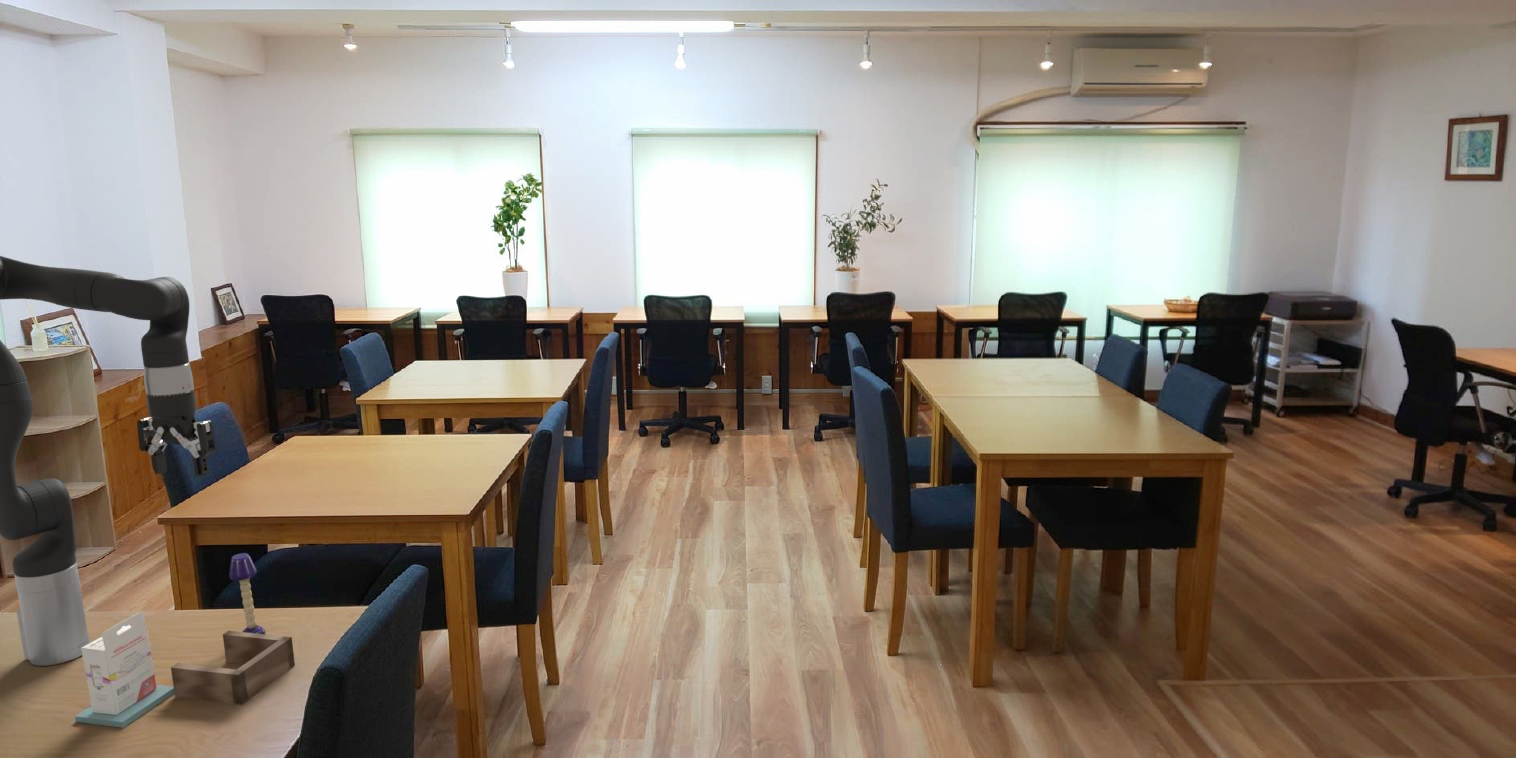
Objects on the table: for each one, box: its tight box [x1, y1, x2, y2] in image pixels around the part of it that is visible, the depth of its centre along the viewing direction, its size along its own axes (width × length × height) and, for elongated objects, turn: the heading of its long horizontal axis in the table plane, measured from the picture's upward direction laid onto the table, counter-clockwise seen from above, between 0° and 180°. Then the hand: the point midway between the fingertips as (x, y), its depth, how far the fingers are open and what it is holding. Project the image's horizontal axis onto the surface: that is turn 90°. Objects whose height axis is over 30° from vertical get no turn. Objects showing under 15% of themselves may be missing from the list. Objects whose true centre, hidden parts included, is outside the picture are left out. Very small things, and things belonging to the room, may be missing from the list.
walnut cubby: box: [170, 630, 296, 706], centre depth 169 cm, size 13×14×6 cm
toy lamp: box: [228, 552, 266, 635], centre depth 184 cm, size 5×5×17 cm
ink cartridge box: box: [81, 611, 157, 715], centre depth 160 cm, size 9×5×15 cm, turn 169°
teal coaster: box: [74, 684, 175, 729], centre depth 162 cm, size 9×11×1 cm
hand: (181, 474), depth 178 cm, fingers open, 8 cm apart
